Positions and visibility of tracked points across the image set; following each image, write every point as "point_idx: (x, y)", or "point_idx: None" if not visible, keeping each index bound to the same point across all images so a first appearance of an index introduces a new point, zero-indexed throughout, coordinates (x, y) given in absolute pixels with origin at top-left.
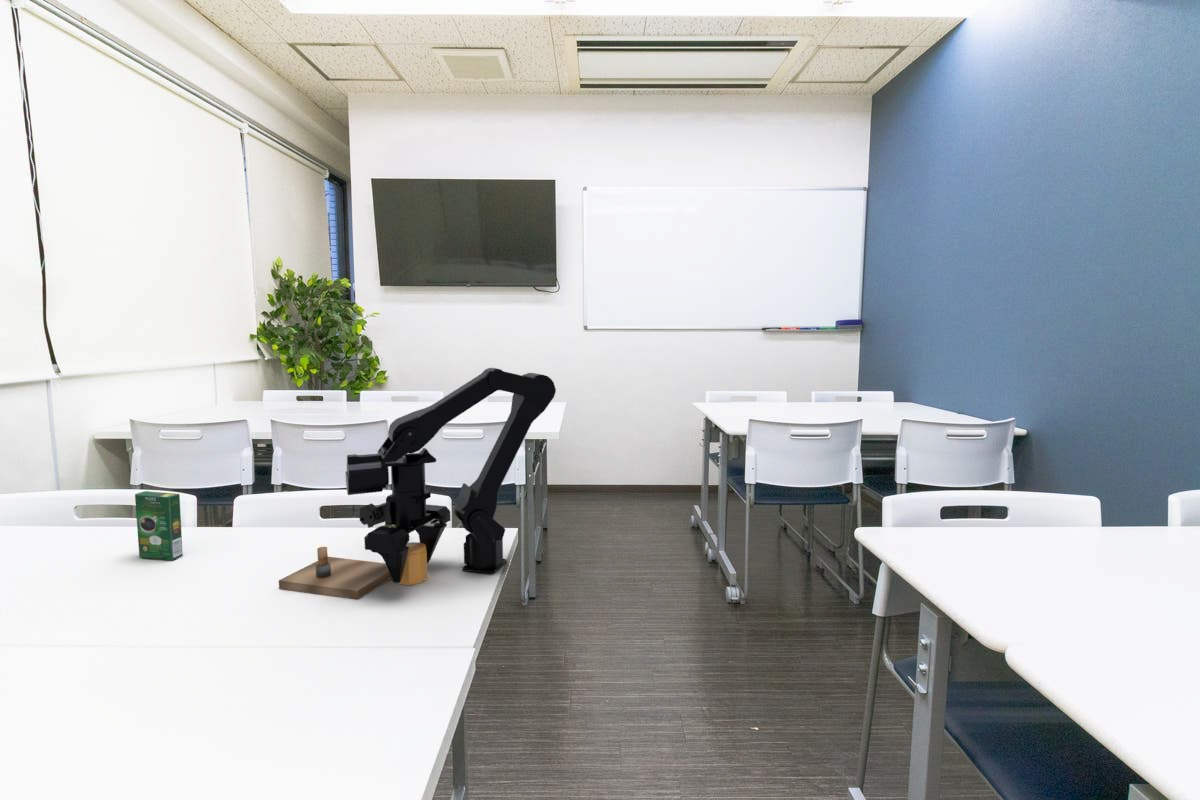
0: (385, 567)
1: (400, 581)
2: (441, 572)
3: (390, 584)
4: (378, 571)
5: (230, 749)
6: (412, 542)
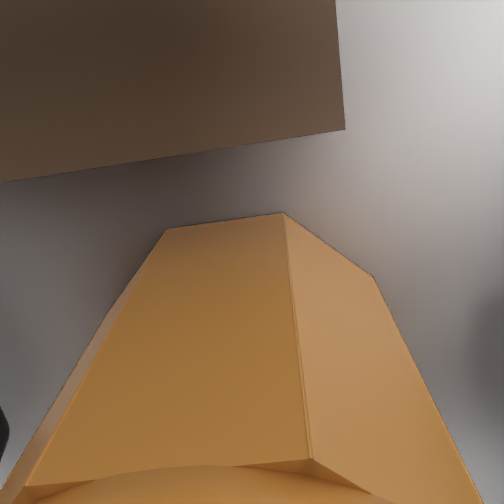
0: (186, 12)
1: (5, 443)
2: (468, 449)
3: (60, 247)
4: (27, 35)
5: None
6: None
